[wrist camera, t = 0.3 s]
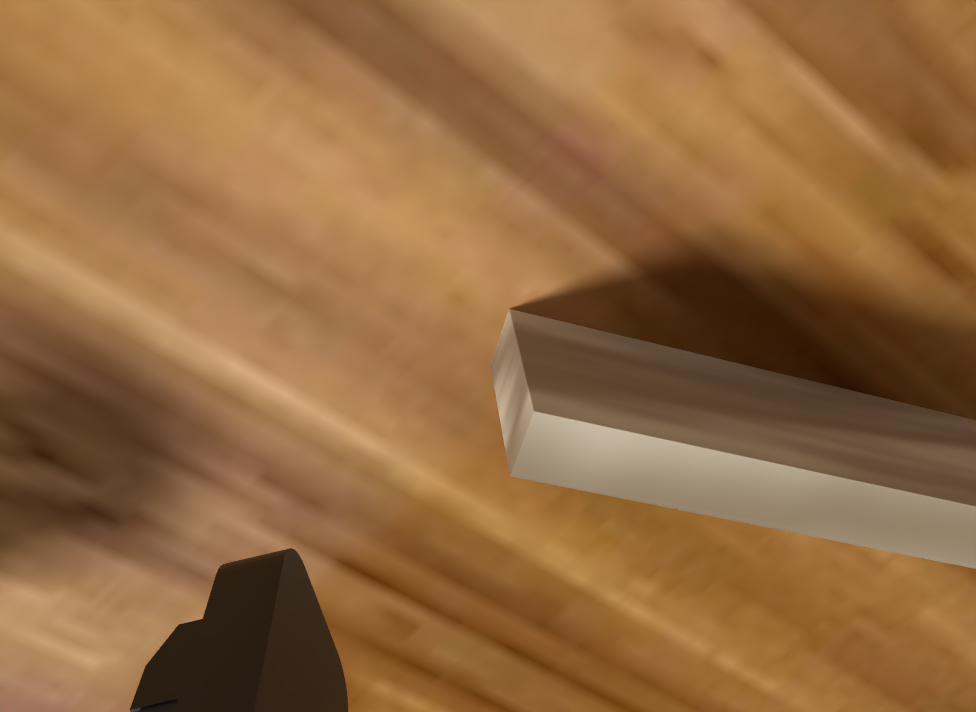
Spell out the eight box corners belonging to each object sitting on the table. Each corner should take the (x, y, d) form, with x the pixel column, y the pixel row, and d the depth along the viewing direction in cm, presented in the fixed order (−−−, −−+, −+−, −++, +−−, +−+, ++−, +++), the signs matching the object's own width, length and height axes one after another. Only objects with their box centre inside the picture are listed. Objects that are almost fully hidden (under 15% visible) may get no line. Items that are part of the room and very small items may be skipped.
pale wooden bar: (534, 233, 27) (566, 323, 21) (1175, 398, 31) (1332, 505, 26) (468, 429, 30) (482, 550, 24) (1063, 553, 34) (1182, 676, 29)
